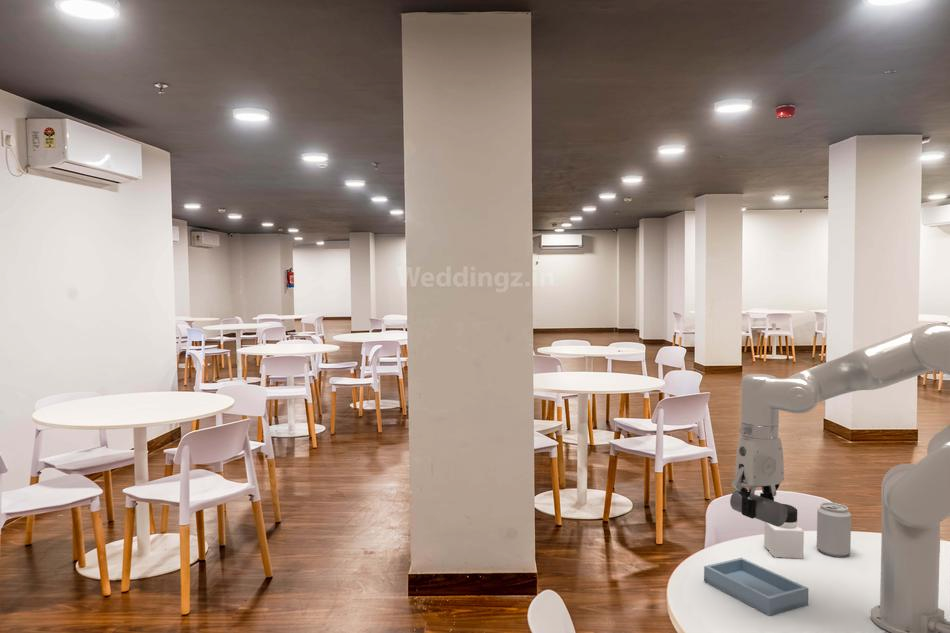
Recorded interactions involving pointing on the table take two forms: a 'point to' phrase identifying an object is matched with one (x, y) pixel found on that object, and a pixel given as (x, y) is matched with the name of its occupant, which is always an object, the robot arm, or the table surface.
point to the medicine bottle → (785, 537)
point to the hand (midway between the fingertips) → (757, 513)
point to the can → (833, 529)
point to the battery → (763, 509)
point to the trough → (756, 586)
